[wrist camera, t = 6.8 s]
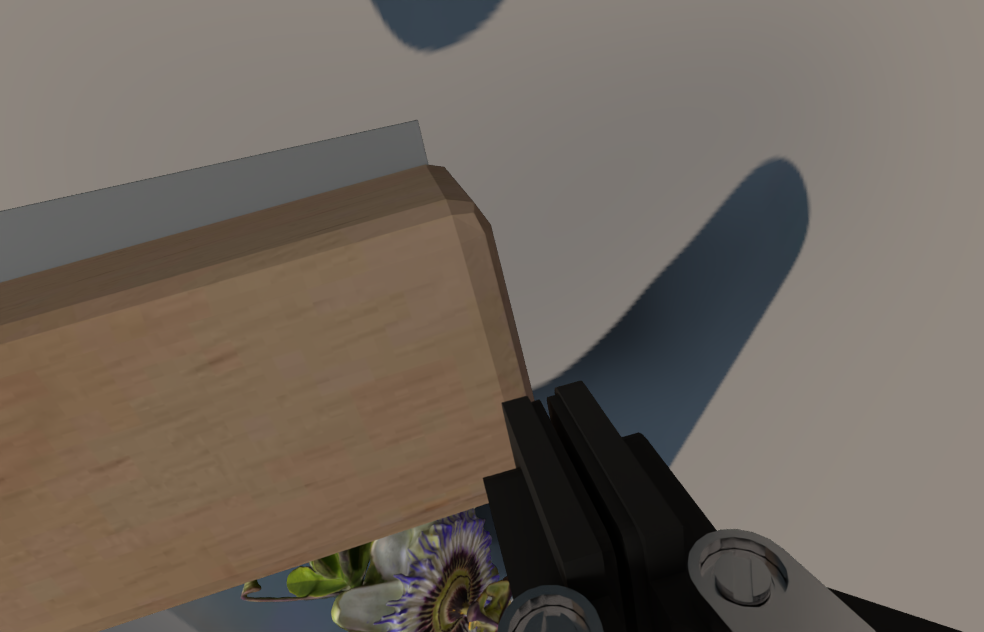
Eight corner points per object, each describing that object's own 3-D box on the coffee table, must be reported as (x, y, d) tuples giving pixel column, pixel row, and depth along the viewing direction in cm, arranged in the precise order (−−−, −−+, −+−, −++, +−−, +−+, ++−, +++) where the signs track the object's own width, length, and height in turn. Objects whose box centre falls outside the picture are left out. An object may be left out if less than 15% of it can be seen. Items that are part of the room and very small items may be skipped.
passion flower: (449, 445, 35) (548, 627, 29) (296, 536, 33) (370, 751, 27) (409, 374, 25) (546, 624, 19) (190, 495, 23) (269, 815, 17)
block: (488, 195, 13) (-374, 440, 12) (561, 492, 17) (-69, 702, 16) (446, 155, 22) (-42, 290, 21) (500, 356, 26) (97, 481, 25)
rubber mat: (-110, 235, 20) (-121, 238, 20) (417, 119, 22) (417, 120, 21) (57, 477, 25) (51, 484, 25) (475, 366, 27) (477, 370, 26)
